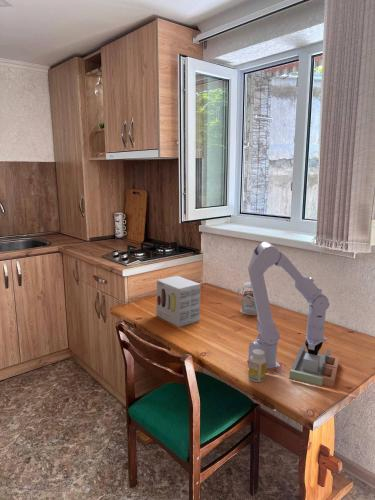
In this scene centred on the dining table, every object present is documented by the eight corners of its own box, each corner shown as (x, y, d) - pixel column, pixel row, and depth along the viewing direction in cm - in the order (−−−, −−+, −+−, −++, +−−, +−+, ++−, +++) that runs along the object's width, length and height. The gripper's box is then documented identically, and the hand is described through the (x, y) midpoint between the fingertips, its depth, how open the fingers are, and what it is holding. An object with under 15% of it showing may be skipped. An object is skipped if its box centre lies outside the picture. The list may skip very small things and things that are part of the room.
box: (301, 351, 146) (302, 344, 146) (339, 359, 140) (340, 352, 140) (289, 379, 126) (290, 370, 125) (333, 390, 120) (333, 381, 119)
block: (317, 372, 129) (318, 362, 128) (302, 369, 131) (303, 358, 130) (319, 366, 133) (320, 356, 133) (304, 363, 136) (305, 352, 135)
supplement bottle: (250, 382, 123) (252, 355, 121) (246, 374, 128) (248, 348, 126) (266, 382, 123) (268, 355, 122) (262, 373, 129) (263, 347, 127)
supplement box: (155, 316, 179) (155, 279, 175) (176, 310, 187) (177, 275, 184) (178, 327, 166) (179, 288, 162) (200, 320, 174) (201, 283, 171)
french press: (261, 315, 183) (264, 265, 178) (237, 314, 183) (240, 264, 179) (258, 308, 193) (261, 260, 188) (235, 307, 193) (237, 260, 188)
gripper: (325, 334, 125) (321, 372, 128) (329, 320, 138) (326, 354, 140) (303, 330, 128) (300, 367, 131) (310, 316, 141) (306, 350, 143)
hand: (312, 360), depth 136 cm, fingers closed
